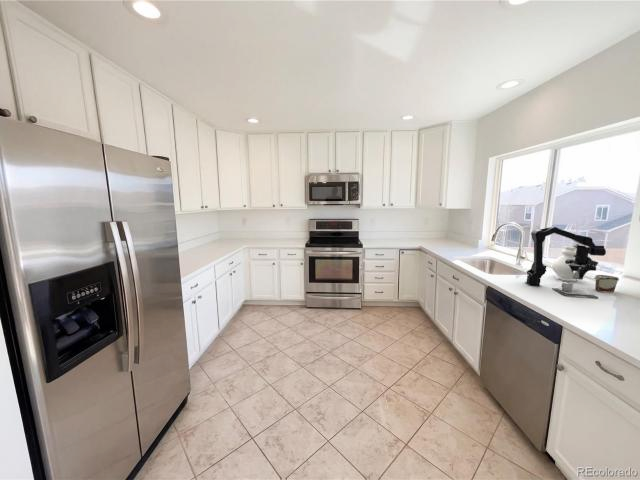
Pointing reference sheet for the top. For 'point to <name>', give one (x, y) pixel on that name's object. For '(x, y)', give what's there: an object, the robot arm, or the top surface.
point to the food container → (605, 283)
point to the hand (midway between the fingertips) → (577, 276)
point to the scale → (575, 294)
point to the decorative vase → (564, 264)
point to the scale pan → (577, 292)
